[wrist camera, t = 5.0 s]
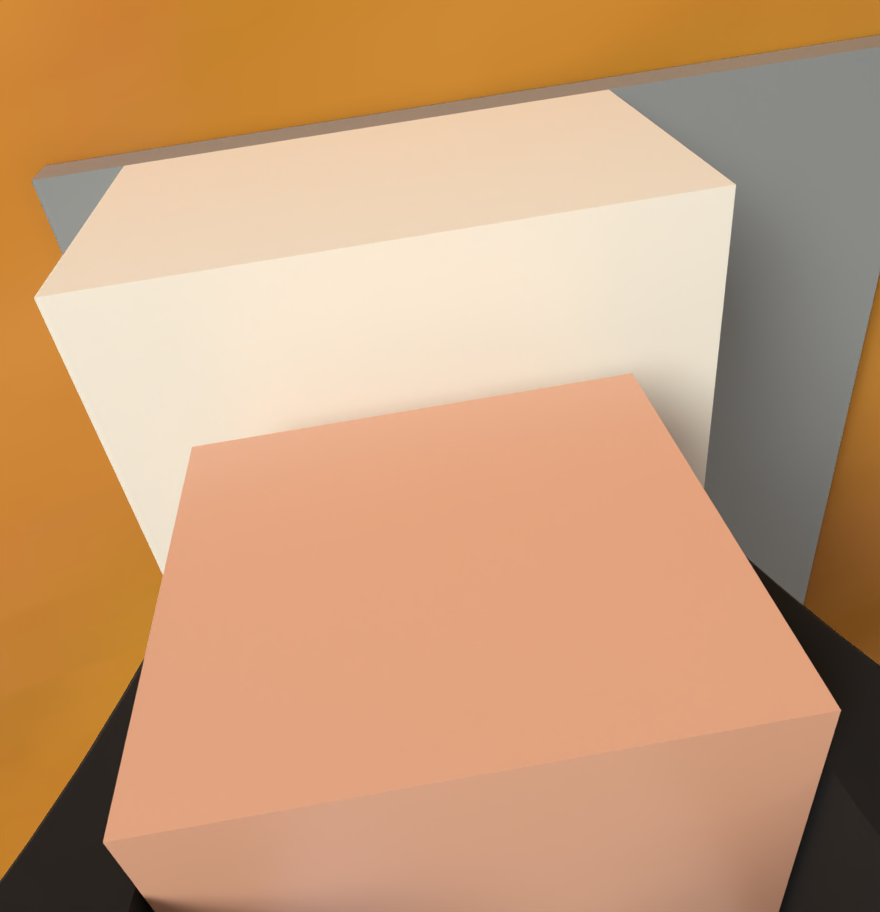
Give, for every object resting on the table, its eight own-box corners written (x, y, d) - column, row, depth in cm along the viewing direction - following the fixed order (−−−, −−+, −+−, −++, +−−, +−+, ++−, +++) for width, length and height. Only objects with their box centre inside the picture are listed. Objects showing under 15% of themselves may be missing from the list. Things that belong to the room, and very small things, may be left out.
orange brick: (623, 656, 12) (753, 994, 8) (294, 713, 12) (282, 1082, 8) (632, 372, 9) (841, 710, 5) (192, 447, 9) (102, 843, 5)
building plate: (761, 715, 26) (773, 737, 25) (305, 797, 25) (304, 821, 25) (905, 30, 14) (933, 38, 13) (44, 166, 13) (31, 180, 13)
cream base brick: (605, 469, 18) (687, 642, 14) (252, 530, 18) (232, 722, 14) (609, 89, 13) (736, 185, 9) (123, 165, 13) (33, 297, 9)
